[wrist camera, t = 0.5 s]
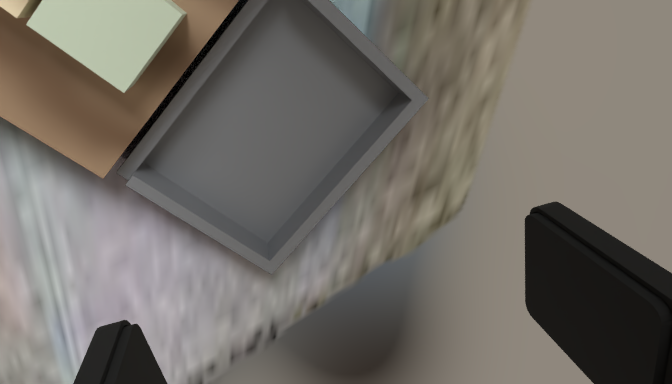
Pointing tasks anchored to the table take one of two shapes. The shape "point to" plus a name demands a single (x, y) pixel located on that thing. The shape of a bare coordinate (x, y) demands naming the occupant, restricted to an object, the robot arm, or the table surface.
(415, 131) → the table surface
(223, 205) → the tray
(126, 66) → the sage block
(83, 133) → the tan wooden board
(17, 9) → the maple block
